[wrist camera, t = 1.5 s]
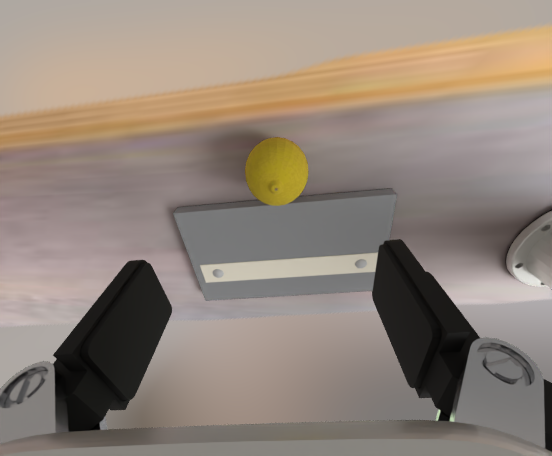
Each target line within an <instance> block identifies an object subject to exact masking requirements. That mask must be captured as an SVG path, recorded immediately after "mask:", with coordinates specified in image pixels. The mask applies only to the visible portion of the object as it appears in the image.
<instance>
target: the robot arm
mask: <svg viewBox="0 0 552 456" xmlns="http://www.w3.org/2000/svg"><path fill="white" fill-rule="evenodd" d="M506 264H507V268H508V270H509V272H510V273H511V274H512V275H513V276H514V277H515V278H516V279H517V280H519V281H520V282H522V283H524V284H527V285H530V286H537V287H549V288H550V289H551V290H552V211H550V212H548V213H546V214H544V215H542V216H541V217H540V218H538V219H537V220H535V221H534V222H532V223H531V224H530V225H529V226H528V227H526V228H525V229H524V230H523V231H522V232H521V233H520V234H519V235H518V237H517V238H516V239H515V240H514V242H513V243H512V245H511V247H510V249H509V251H508V254H507V259H506ZM372 297H373V301H374V303H375V306H376V308H377V311H378V313H379V315H380V318H381V320H382V323H383V325H384V327H385V330H386V332H387V335H388V337H389V339H390V342H391V344H392V346H393V349H394V351H395V354H396V356H397V358H398V361H399V363H400V366H401V368H402V370H403V373H404V375H405V377H406V380H407V382H408V384H409V386H410V387H411V388H415V389H416V391H417V394H418V396H419V398H432V400H433V402H434V404H435V407H436V408H438V409H439V410H438V413H437V417H436V421H431V420H430V421H429V420H380V421H379V420H377V421H336V422H302V423H269V424H240V425H213V426H185V427H159V428H134V429H109V430H107V424H106V419H105V415H106V413H107V411H108V409H110V410H125V409H126V407H127V405H128V403H129V401H130V400H131V399H132V398H133V397H134V396H135V394H136V392H137V390H138V388H139V385H140V383H141V381H142V379H143V377H144V374H145V372H146V370H147V367H148V365H149V363H150V361H151V359H152V356H153V354H154V352H155V349H156V347H157V345H158V343H159V340H160V338H161V336H162V334H163V331H164V329H165V327H166V325H167V322H168V320H169V318H170V316H171V313H172V307H171V304H170V302H169V300H168V298H167V296H166V294H165V292H164V290H163V288H162V286H161V284H160V282H159V280H158V278H157V276H156V274H155V272H154V270H153V268H152V266H151V264H149V263H147V262H146V261H145V260H136V261H129V262H127V263H126V265H125V266H124V267H123V268H122V270H121V271H120V272H119V273H118V275H117V276H116V277H115V278H114V280H113V281H112V282H111V283H110V285H109V286H108V287H107V288H106V290H105V291H104V292H103V293H102V295H101V296H100V297H99V298H98V300H97V301H96V302H95V303H94V305H93V306H92V307H91V308H90V310H89V311H88V312H87V313H86V315H85V316H84V317H83V318H82V320H81V321H80V322H79V323H78V325H77V326H76V327H75V328H74V330H73V331H72V332H71V333H70V335H69V336H68V337H67V338H66V340H65V341H64V342H63V343H62V345H61V346H60V347H59V348H58V350H57V351H56V352H55V353H54V355H53V356H54V357H56V358H57V360H56V361H55V362H54V364H52V363H50V362H44V361H43V362H39V363H35V364H33V365H31V366H28V367H26V368H25V369H23V370H21V371H20V372H18V373H17V374H15V375H14V376H13V377H12V378H10V379H9V380H8V381H7V382H6V383H5V384H4V385H3V386H2V387H1V388H0V456H552V383H551V382H549V381H547V380H544V379H543V376H542V373H541V371H540V369H539V368H538V366H537V364H536V363H535V362H534V361H533V360H532V359H531V358H530V357H529V356H528V355H527V354H525V353H524V352H523V351H521V350H520V349H519V348H517V347H515V346H513V345H511V344H509V343H507V342H505V341H502V340H499V339H495V338H480V337H479V336H478V335H477V333H476V332H475V330H474V329H473V328H472V327H471V325H470V324H469V323H468V321H467V320H466V319H465V318H464V316H463V315H462V313H461V312H460V311H459V309H458V308H457V307H456V306H455V304H454V303H453V302H452V300H451V299H450V298H449V296H448V295H447V294H446V292H445V291H444V290H443V289H442V287H441V286H440V285H439V283H438V282H437V281H436V279H435V278H434V277H433V276H432V275H431V274H430V273H429V272H425V270H424V269H423V268H422V266H421V265H420V264H419V262H418V261H417V260H416V258H415V257H414V256H413V254H412V253H411V252H410V250H409V249H408V247H407V246H406V245H405V243H404V242H403V241H402V240H400V239H399V240H386V241H384V244H382V245H380V246H379V250H378V257H377V264H376V270H375V277H374V284H373V291H372Z"/></svg>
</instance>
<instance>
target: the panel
mask: <svg viewBox="0 0 552 456" xmlns="http://www.w3.org/2000/svg"><path fill="white" fill-rule="evenodd" d="M396 198H397V193H396V192H395V191H394V190H393V189H392V188H391V189H380V190H368V191H357V192H346V193H335V194H323V195H312V196H301V197H297V198H296V199H295V200H293V201H292V202H290V203H288V204H285V205H280V206H272V205H268V204H265V203H263V202H261V201H260V200H255V201H244V202H233V203H221V204H210V205H199V206H187V207H178V208H177V209H176V210H175V212H174V213H173V215H174V218H175V220H176V223H177V226H178V228H179V231H180V234H181V236H182V239H183V242H184V244H185V247H186V250H187V252H188V255H189V258H190V260H191V263H192V266H193V268H194V271H195V274H196V276H197V279H198V282H199V284H200V287H201V290H202V292H203V295H204V298H205V300H206V301H209V300H226V299H243V298H260V297H277V296H294V295H311V294H328V293H344V292H361V291H373V284H374V277H375V272H364V273H348V274H333V275H318V276H302V277H287V278H271V279H256V280H240V281H225V282H209V283H206V281H205V278H204V276H203V273H202V270H201V267H200V265H206V264H220V263H234V262H249V261H263V260H277V259H291V258H306V257H320V256H334V255H348V254H362V253H377V252H378V250H379V246H380V245H382V244H384V241H386V240H389V239H390V233H391V227H392V222H393V216H394V210H395V204H396Z"/></svg>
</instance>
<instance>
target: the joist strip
mask: <svg viewBox="0 0 552 456" xmlns="http://www.w3.org/2000/svg"><path fill="white" fill-rule="evenodd" d="M377 257H378V252H377V253H362V254H348V255H334V256H320V257H306V258H291V259H277V260H263V261H249V262H234V263H220V264H206V265H200V267H201V270H202V273H203V276H204V278H205V281H206V283H209V282H225V281H240V280H256V279H271V278H287V277H302V276H318V275H333V274H348V273H364V272H375V270H376V264H377Z"/></svg>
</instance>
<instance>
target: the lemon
mask: <svg viewBox="0 0 552 456" xmlns="http://www.w3.org/2000/svg"><path fill="white" fill-rule="evenodd" d="M245 175H246V182H247V184H248V187H249V189H250V191H251V192H252V194H253V195H254V196H255V197H256V198H257V199H258V200H260V201H261V202H263V203H265V204H268V205H272V206H280V205H285V204H288V203H290V202H292V201H293V200H295V199H296V198H297V197H298V196H299V195H300V194H301V192H302V191H303V190H304V187H305V185H306V183H307V179H308V163H307V160H306V157H305V155H304V153H303V152H302V150H301V149H300V148H299V146H297V145H296V144H295V143H294V142H292V141H290V140H288V139H285V138H279V137H275V138H269V139H266V140H264V141H262V142H260V143H259V144H258V145H256V146H255V147H254V149H253V150H252V151H251V152H250V154H249V156H248V159H247V161H246V167H245Z"/></svg>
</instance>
